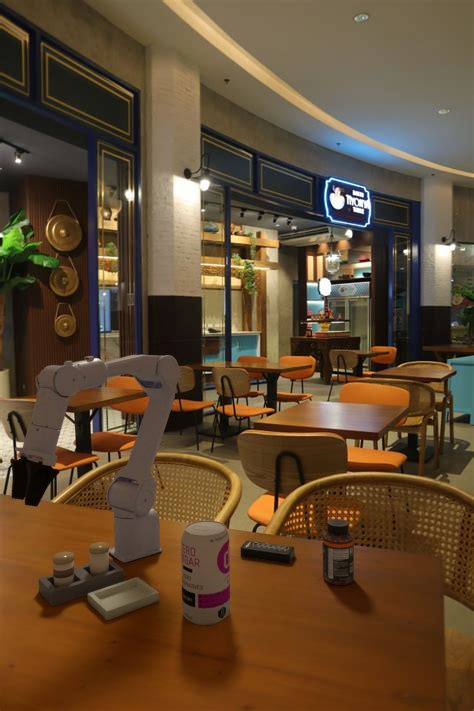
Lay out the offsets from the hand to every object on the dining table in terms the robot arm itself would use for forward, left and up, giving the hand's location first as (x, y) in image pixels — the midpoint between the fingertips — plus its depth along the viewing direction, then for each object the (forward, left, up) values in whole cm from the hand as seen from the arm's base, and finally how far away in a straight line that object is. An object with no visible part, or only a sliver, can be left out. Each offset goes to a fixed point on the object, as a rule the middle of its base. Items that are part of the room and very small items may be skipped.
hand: (23, 502), depth 96 cm
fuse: (-13, +2, -18) cm, 22 cm away
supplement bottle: (-49, +31, -18) cm, 61 cm away
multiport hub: (-46, +14, -18) cm, 52 cm away
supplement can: (-22, +25, -18) cm, 38 cm away
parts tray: (-13, +12, -18) cm, 25 cm away
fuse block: (-10, +2, -18) cm, 20 cm away
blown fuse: (-6, +2, -18) cm, 19 cm away
